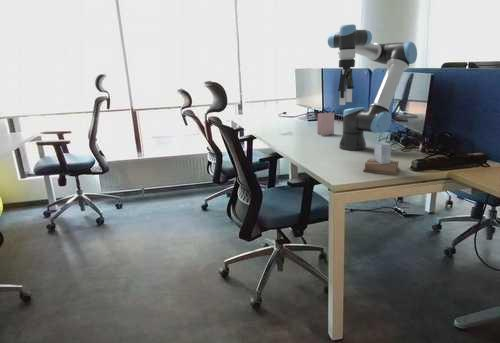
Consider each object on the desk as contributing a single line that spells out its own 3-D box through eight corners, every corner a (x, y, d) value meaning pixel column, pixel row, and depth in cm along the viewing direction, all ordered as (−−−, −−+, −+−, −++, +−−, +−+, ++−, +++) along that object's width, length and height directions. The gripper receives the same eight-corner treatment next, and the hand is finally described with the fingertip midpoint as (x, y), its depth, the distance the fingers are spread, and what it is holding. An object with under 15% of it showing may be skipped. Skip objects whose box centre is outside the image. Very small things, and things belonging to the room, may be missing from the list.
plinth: (368, 166, 178) (368, 158, 177) (399, 169, 171) (399, 160, 170) (363, 171, 170) (363, 163, 169) (396, 174, 163) (396, 166, 162)
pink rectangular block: (333, 134, 264) (334, 112, 260) (335, 135, 257) (335, 114, 253) (317, 134, 265) (317, 113, 261) (318, 136, 258) (318, 114, 254)
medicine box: (390, 163, 166) (391, 144, 164) (380, 164, 166) (381, 145, 163) (382, 159, 173) (384, 141, 171) (373, 160, 173) (374, 141, 171)
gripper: (345, 59, 193) (344, 100, 199) (332, 59, 172) (331, 106, 177) (360, 58, 189) (358, 100, 195) (348, 58, 168) (347, 106, 174)
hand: (345, 103), depth 186 cm, fingers open, 13 cm apart
